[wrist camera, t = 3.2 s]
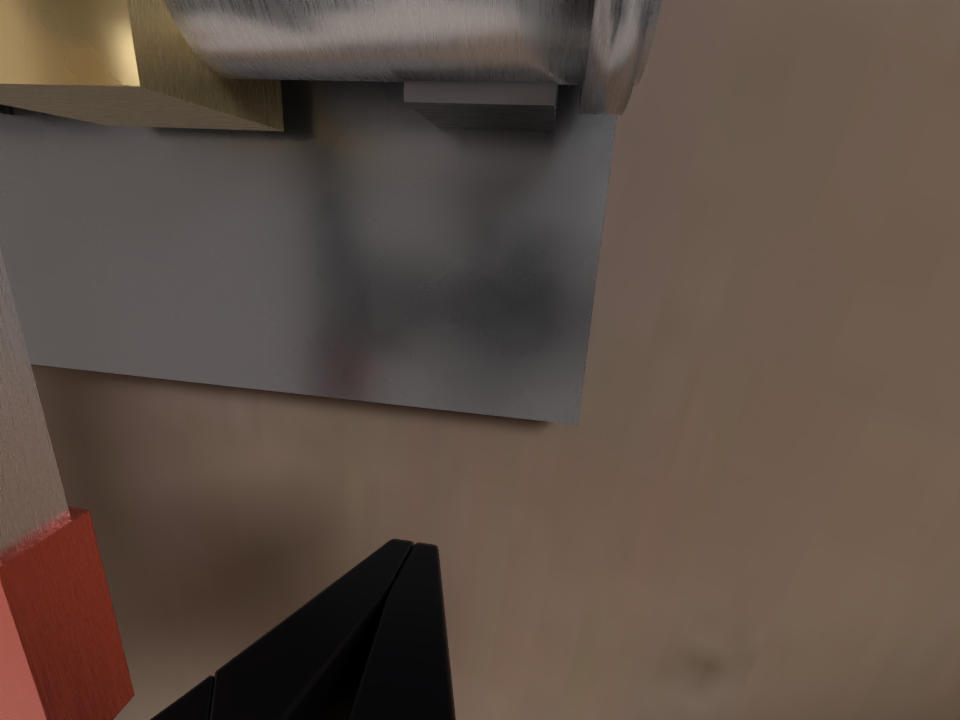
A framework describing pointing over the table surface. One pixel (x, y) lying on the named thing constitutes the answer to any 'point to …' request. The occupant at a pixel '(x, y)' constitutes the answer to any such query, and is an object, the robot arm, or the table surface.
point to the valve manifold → (316, 191)
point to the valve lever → (47, 566)
